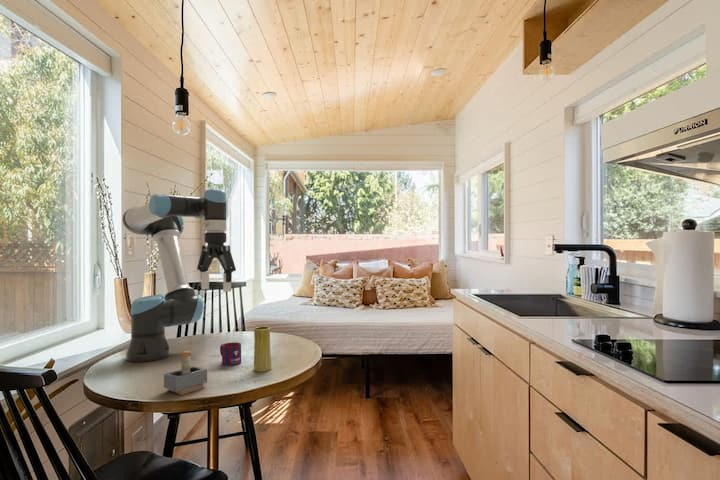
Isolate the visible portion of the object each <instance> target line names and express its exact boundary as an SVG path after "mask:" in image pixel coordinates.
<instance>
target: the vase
mask: <svg viewBox="0 0 720 480" xmlns="http://www.w3.org/2000/svg"><path fill="white" fill-rule="evenodd" d="M253 331H254V332H253V333H254V334H253V337H254V338H253V339H254V343H253V345H254V346H253V349H254V352H253V354H254V355H253V371H254V372H256V373H263V372H264V373H265V372H269V371H271V370H272V355H271V351H272V350H271V333H270V332H271V328H270V326H258V327H254V330H253Z"/></svg>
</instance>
